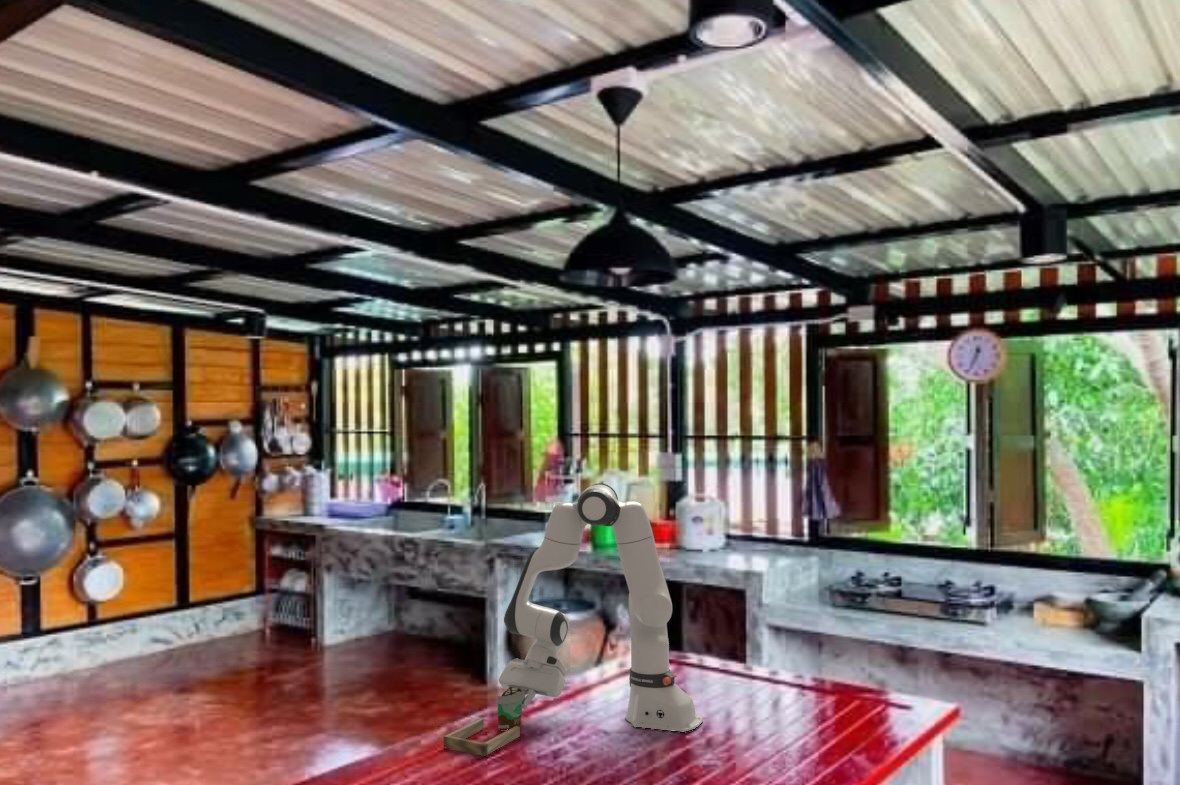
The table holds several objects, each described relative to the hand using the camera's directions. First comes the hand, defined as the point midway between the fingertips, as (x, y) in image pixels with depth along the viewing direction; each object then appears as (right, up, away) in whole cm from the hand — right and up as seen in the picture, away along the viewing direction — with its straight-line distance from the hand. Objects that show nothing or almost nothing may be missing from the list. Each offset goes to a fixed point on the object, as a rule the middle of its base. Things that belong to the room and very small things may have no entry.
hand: (521, 704), depth 262 cm
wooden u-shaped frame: (-9, -4, -16) cm, 19 cm away
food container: (-2, -5, -4) cm, 7 cm away
